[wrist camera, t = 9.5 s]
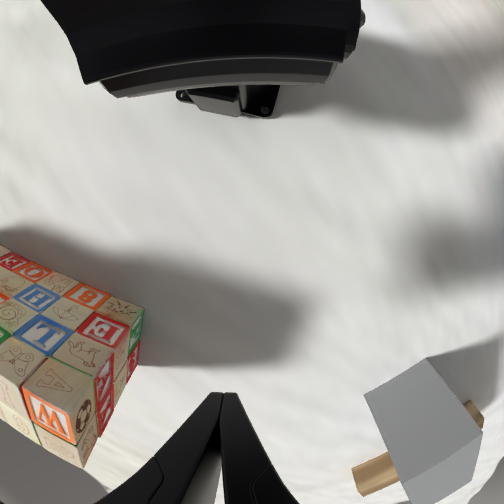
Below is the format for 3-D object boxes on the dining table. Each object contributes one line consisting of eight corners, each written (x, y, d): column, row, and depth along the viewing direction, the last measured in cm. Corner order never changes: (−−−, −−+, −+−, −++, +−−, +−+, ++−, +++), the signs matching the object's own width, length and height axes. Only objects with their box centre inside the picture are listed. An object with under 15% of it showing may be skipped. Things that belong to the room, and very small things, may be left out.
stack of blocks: (-16, 285, 21) (-86, 329, 9) (-18, 233, 19) (-101, 266, 7) (139, 365, 22) (83, 473, 10) (147, 306, 21) (68, 418, 9)
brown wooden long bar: (351, 468, 27) (357, 491, 23) (470, 399, 24) (484, 417, 21) (357, 475, 27) (363, 496, 24) (469, 410, 25) (482, 427, 21)
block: (363, 394, 23) (401, 484, 12) (425, 357, 22) (482, 432, 12) (390, 449, 26) (416, 513, 16) (437, 422, 25) (471, 480, 15)
